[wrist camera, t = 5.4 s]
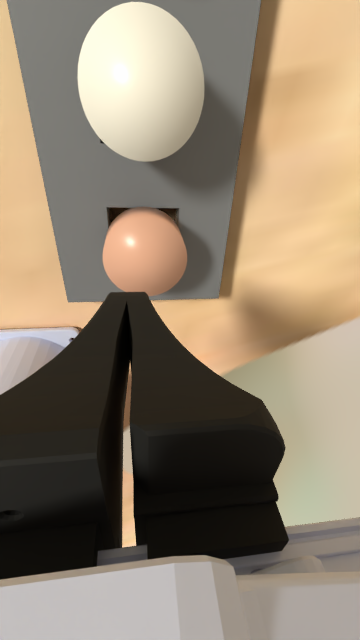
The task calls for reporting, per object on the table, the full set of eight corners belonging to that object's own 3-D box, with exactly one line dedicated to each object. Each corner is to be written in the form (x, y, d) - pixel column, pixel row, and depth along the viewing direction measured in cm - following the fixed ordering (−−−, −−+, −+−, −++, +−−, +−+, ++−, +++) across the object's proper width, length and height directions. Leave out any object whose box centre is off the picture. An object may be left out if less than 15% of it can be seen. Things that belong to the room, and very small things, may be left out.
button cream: (186, 152, 15) (199, 163, 12) (95, 148, 14) (86, 159, 11) (193, 30, 12) (210, 8, 9) (82, 20, 12) (67, -6, 9)
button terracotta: (177, 268, 20) (184, 295, 17) (110, 269, 19) (106, 297, 17) (180, 199, 17) (189, 218, 15) (103, 198, 17) (97, 217, 14)
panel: (213, 286, 22) (218, 298, 21) (72, 289, 21) (68, 302, 19) (294, -348, 9) (321, -422, 8) (-66, -444, 8) (-106, -553, 6)
